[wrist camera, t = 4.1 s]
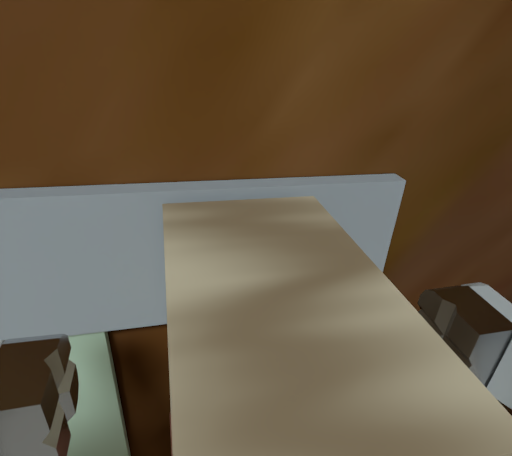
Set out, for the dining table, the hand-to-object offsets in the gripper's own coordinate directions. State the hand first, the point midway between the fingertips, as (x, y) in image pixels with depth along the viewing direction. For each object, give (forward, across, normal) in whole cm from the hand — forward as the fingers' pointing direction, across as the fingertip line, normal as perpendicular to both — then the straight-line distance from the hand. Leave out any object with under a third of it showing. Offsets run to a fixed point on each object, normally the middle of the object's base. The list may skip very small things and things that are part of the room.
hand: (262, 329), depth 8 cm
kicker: (+3, 0, +4) cm, 5 cm away
